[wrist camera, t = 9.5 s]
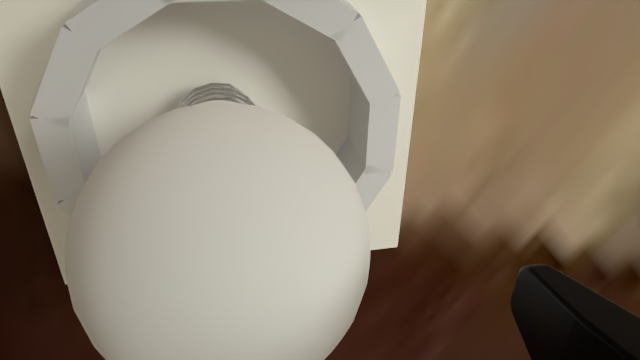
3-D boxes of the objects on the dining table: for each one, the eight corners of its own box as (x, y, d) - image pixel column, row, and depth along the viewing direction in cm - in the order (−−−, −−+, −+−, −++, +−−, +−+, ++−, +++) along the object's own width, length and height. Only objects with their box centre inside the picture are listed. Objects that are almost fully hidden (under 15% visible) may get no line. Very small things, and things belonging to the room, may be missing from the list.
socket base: (422, -113, 17) (475, -104, 14) (387, 226, 25) (416, 285, 21) (-44, -115, 15) (-114, -105, 12) (72, 260, 22) (50, 331, 19)
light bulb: (196, -27, 16) (186, 119, 7) (347, 100, 19) (482, 319, 10) (78, 129, 18) (-57, 415, 9) (234, 222, 21) (258, 505, 12)
